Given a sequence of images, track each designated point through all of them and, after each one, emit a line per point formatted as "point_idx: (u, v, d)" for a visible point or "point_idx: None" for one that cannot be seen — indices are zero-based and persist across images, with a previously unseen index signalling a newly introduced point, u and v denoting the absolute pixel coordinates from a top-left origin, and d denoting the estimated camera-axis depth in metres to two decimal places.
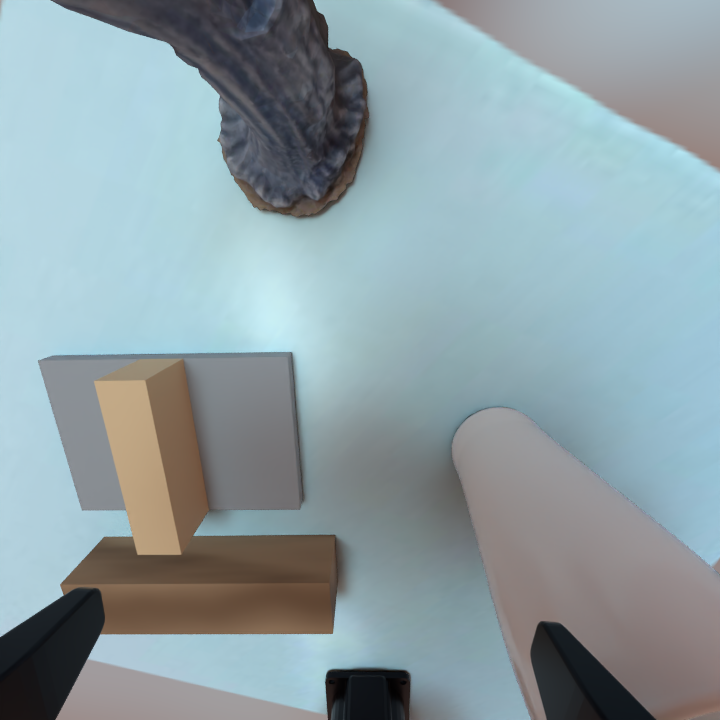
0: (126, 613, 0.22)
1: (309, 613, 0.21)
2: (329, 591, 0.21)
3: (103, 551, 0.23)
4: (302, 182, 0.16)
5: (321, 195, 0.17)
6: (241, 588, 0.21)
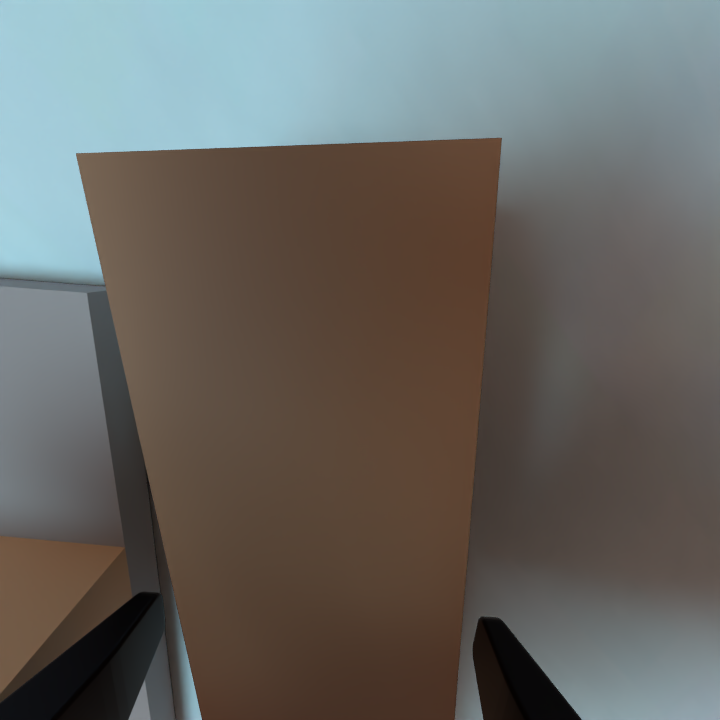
0: None
1: (326, 289, 0.04)
2: (154, 157, 0.03)
3: None
4: None
5: None
6: (197, 580, 0.05)
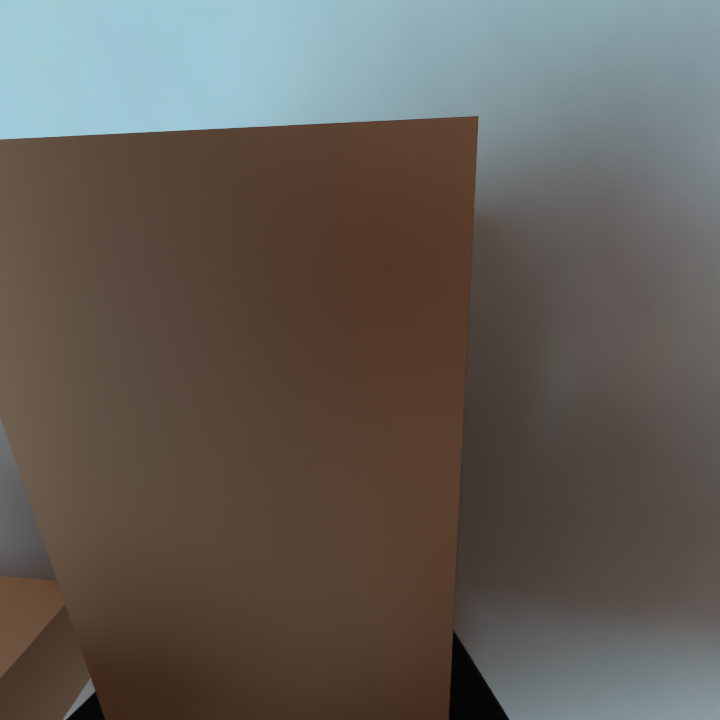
0: None
1: (256, 320, 0.03)
2: (14, 148, 0.03)
3: None
4: None
5: None
6: (120, 672, 0.04)
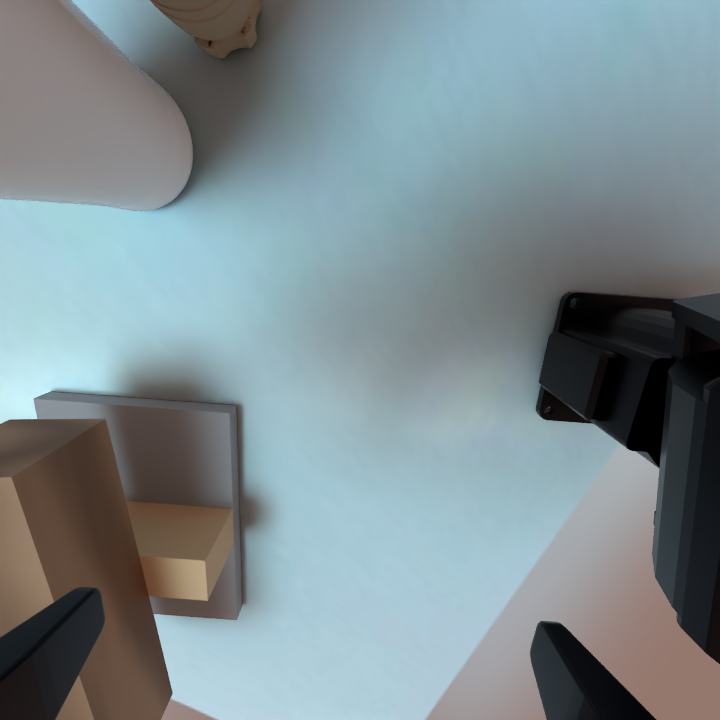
0: None
1: None
2: None
3: None
4: None
5: None
6: None
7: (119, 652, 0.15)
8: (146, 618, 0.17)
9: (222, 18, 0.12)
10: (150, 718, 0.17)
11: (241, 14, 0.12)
